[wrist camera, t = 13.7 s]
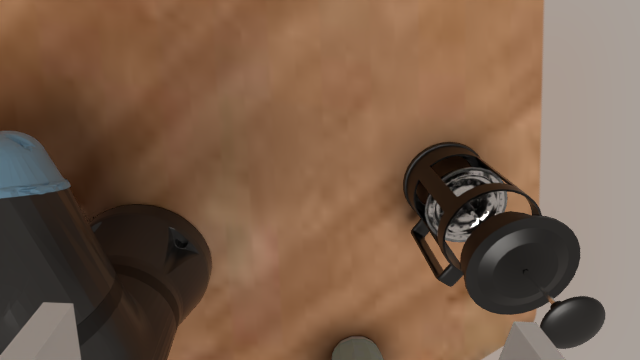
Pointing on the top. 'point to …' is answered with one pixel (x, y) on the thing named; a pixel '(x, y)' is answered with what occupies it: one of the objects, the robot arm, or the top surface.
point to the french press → (499, 245)
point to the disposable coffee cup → (356, 349)
